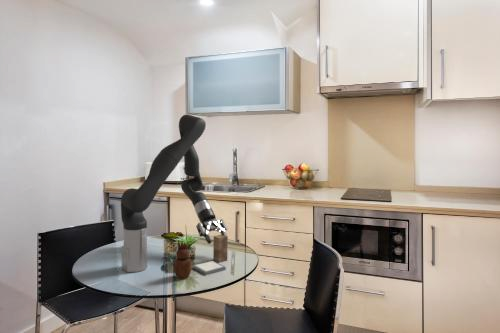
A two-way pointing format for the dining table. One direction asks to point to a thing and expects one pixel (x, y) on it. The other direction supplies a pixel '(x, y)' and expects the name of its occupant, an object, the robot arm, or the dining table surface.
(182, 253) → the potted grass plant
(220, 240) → the walnut block
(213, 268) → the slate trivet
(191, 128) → the robot arm
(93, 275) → the dining table surface
